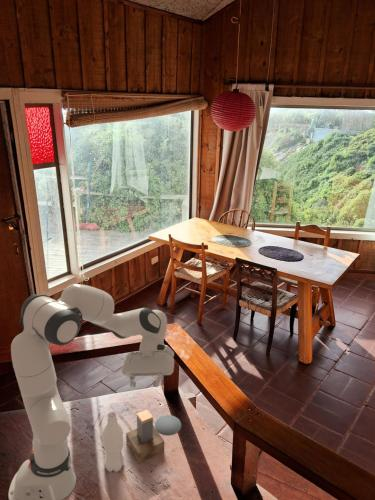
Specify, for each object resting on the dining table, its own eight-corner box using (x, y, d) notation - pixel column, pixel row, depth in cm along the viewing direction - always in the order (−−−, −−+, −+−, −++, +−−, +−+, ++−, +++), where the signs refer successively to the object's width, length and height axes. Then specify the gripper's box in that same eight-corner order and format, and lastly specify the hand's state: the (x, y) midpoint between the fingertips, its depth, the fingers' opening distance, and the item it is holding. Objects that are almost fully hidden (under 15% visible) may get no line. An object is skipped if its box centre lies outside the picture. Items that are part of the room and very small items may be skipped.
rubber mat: (154, 437, 166) (154, 435, 165) (155, 417, 176) (155, 415, 176) (181, 437, 166) (181, 435, 166) (180, 416, 176) (180, 415, 176)
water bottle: (103, 475, 149) (99, 422, 140) (106, 458, 156) (103, 407, 146) (122, 475, 149) (121, 422, 140) (125, 458, 156) (123, 407, 147)
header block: (138, 465, 153) (138, 453, 151) (126, 444, 162) (126, 433, 160) (164, 452, 159) (164, 441, 157) (151, 433, 168) (151, 422, 165)
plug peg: (142, 453, 157) (142, 421, 151) (137, 445, 161) (136, 413, 155) (152, 448, 160) (152, 416, 154) (147, 440, 163) (147, 409, 157)
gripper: (123, 348, 157) (114, 384, 148) (171, 345, 149) (165, 382, 140) (131, 355, 161) (123, 390, 152) (178, 353, 153) (172, 389, 145)
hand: (143, 386), depth 146 cm, fingers open, 8 cm apart
